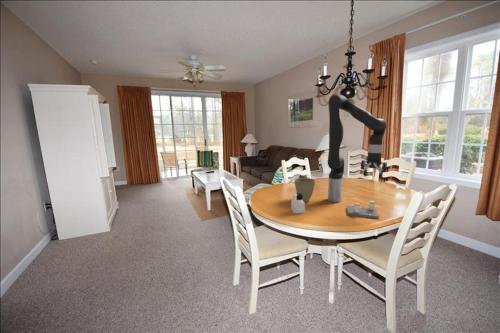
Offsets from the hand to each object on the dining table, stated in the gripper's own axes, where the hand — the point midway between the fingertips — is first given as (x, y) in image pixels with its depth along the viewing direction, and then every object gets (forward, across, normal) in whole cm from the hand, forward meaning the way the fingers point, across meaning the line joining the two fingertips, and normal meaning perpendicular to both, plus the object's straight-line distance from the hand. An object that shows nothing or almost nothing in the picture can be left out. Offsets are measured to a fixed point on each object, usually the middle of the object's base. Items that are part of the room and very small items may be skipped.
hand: (372, 177), depth 135 cm
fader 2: (+20, +2, -2) cm, 20 cm away
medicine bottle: (+23, -30, -35) cm, 51 cm away
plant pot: (+23, -40, -15) cm, 49 cm away
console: (+22, -1, -8) cm, 23 cm away
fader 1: (+20, -2, -13) cm, 24 cm away
